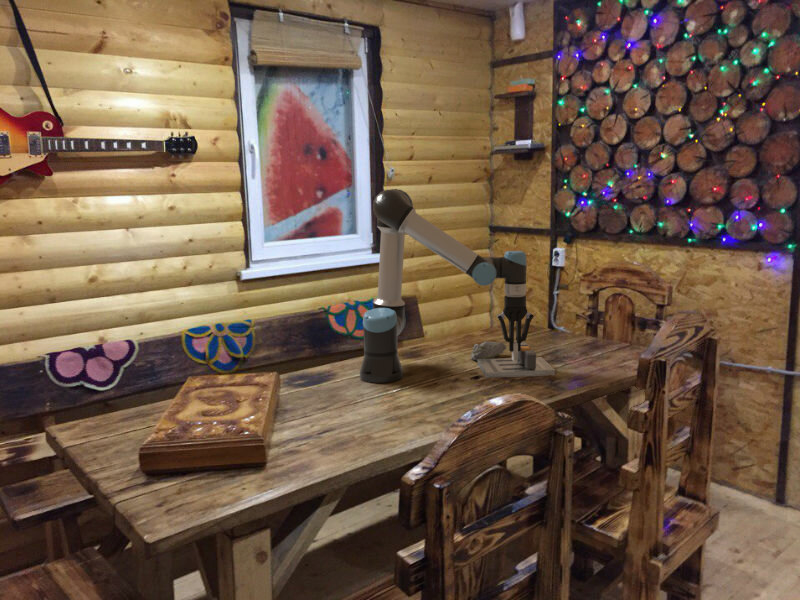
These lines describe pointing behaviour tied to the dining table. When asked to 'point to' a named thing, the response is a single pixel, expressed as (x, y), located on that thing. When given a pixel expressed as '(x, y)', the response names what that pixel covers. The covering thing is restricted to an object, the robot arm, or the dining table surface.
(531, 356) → the breaker near
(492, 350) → the mineral specimen
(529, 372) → the panel
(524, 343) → the breaker far
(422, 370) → the dining table surface
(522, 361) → the breaker middle
